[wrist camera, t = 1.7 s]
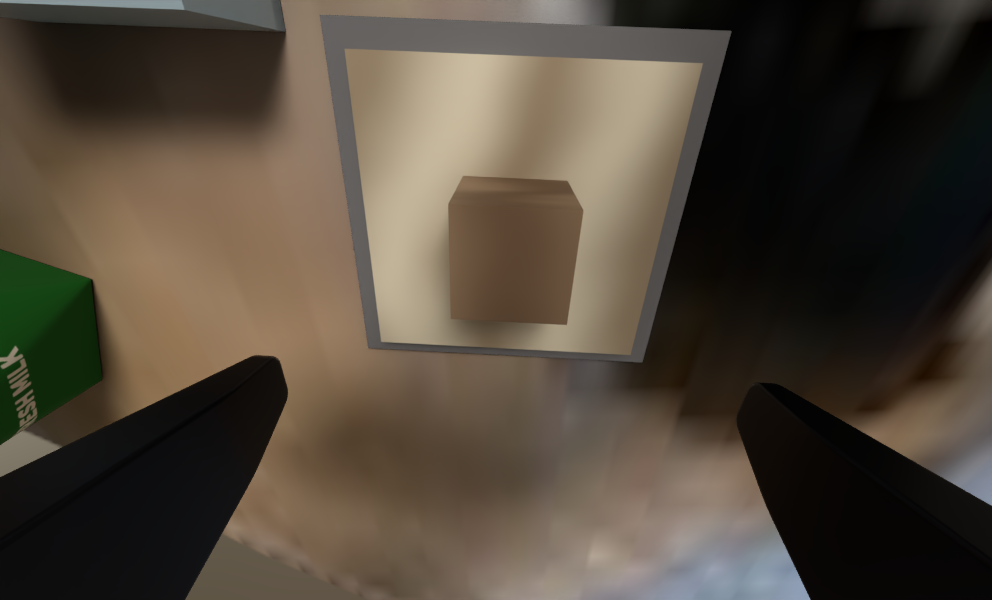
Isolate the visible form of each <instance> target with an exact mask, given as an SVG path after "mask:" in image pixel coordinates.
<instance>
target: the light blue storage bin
mask: <svg viewBox="0 0 992 600" xmlns="http://www.w3.org/2000/svg"><path fill="white" fill-rule="evenodd" d="M0 17H5V18H13V19H20V20H28V21H36V22H54V23H79V24H104V25H129V26H154V27H179V28H204V29H228V30H253V31H278V32H286V31H285V25H284V20H283V14H282V9H281V3H280V0H0Z"/></svg>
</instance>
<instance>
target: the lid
mask: <svg viewBox="0 0 992 600" xmlns="http://www.w3.org/2000/svg"><path fill="white" fill-rule="evenodd" d="M345 57H346V65H347V73H348V81H349V89H350V97H351V105H352V113H353V121H354V129H355V137H356V145H357V153H358V161H359V169H360V177H361V185H362V193H363V201H364V208H365V216H366V224H367V232H368V240H369V248H370V256H371V264H372V272H373V280H374V288H375V296H376V304H377V312H378V320H379V328H380V336H381V342H393V343H412V344H431V345H450V346H469V347H488V348H507V349H526V350H545V351H564V352H583V353H602V354H620V355H631V351H632V347H633V343H634V339H635V335H636V331H637V327H638V323H639V319H640V315H641V311H642V307H643V303H644V299H645V295H646V291H647V287H648V283H649V279H650V275H651V271H652V267H653V263H654V258H655V254H656V250H657V246H658V242H659V238H660V234H661V230H662V226H663V222H664V218H665V214H666V210H667V206H668V202H669V198H670V194H671V190H672V186H673V182H674V178H675V174H676V170H677V166H678V162H679V158H680V154H681V150H682V146H683V142H684V138H685V134H686V130H687V126H688V122H689V118H690V113H691V109H692V105H693V101H694V97H695V93H696V89H697V85H698V81H699V77H700V73H701V69H702V65H703V63H683V62H659V61H634V60H610V59H585V58H561V57H536V56H512V55H487V54H463V53H438V52H414V51H389V50H365V49H345Z"/></svg>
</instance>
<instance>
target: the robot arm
mask: <svg viewBox="0 0 992 600" xmlns="http://www.w3.org/2000/svg"><path fill="white" fill-rule="evenodd" d="M287 397H288V388H287V384H286V381H285V377H284V374H283V370H282V367H281V363H280V361H279V360H278V358H276V357H274V356H262V355H255V356H251V357H249V358H247V359H245V360H243V361H241V362H239V363H237V364H235V365H232V366H230V367H228V368H226V369H224V370H222V371H220V372H218V373H216V374H214V375H212V376H210V377H208V378H205V379H203V380H201V381H199V382H197V383H195V384H193V385H191V386H189V387H187V388H185V389H183V390H181V391H178V392H176V393H174V394H172V395H170V396H168V397H166V398H164V399H162V400H160V401H158V402H156V403H153V404H151V405H149V406H147V407H145V408H143V409H141V410H139V411H137V412H135V413H133V414H131V415H129V416H126V417H124V418H122V419H120V420H118V421H116V422H114V423H112V424H110V425H108V426H106V427H104V428H101V429H99V430H97V431H95V432H93V433H91V434H89V435H87V436H85V437H83V438H81V439H79V440H77V441H74V442H72V443H70V444H68V445H66V446H64V447H62V448H60V449H58V450H56V451H54V452H52V453H50V454H47V455H45V456H43V457H41V458H39V459H37V460H35V461H33V462H31V463H29V464H27V465H25V466H23V467H20V468H18V469H16V470H14V471H12V472H10V473H8V474H6V475H4V476H2V477H0V600H185V599H186V597H187V595H188V593H189V592H190V590H191V588H192V586H193V585H194V583H195V581H196V579H197V577H198V575H199V574H200V572H201V570H202V568H203V567H204V565H205V563H206V561H207V559H208V558H209V556H210V554H211V552H212V550H213V549H214V547H215V545H216V543H217V541H218V540H219V538H220V536H221V534H222V533H223V531H224V529H225V527H226V525H227V524H228V522H229V520H230V518H231V516H232V515H233V513H234V511H235V509H236V507H237V506H238V504H239V502H240V500H241V498H242V497H243V495H244V493H245V491H246V489H247V488H248V486H249V484H250V482H251V480H252V478H253V476H254V474H255V472H256V470H257V468H258V466H259V464H260V462H261V459H262V457H263V455H264V452H265V450H266V448H267V445H268V443H269V441H270V438H271V436H272V434H273V431H274V429H275V427H276V424H277V422H278V420H279V417H280V415H281V413H282V411H283V408H284V406H285V404H286V401H287ZM736 423H737V428H738V431H739V434H740V436H741V439H742V442H743V445H744V447H745V450H746V453H747V456H748V458H749V461H750V464H751V467H752V469H753V472H754V475H755V478H756V480H757V483H758V486H759V489H760V491H761V494H762V497H763V499H764V502H765V504H766V506H767V509H768V511H769V513H770V515H771V518H772V520H773V522H774V524H775V526H776V528H777V530H778V532H779V534H780V537H781V539H782V541H783V543H784V545H785V547H786V549H787V551H788V553H789V555H790V557H791V560H792V562H793V564H794V566H795V568H796V570H797V572H798V574H799V576H800V578H801V581H802V583H803V585H804V587H805V589H806V591H807V593H808V595H809V597H810V599H811V600H992V506H991V505H989V504H988V503H986V502H984V501H982V500H981V499H979V498H977V497H975V496H973V495H972V494H970V493H968V492H966V491H965V490H963V489H961V488H959V487H958V486H956V485H954V484H952V483H951V482H949V481H947V480H945V479H944V478H942V477H940V476H938V475H937V474H935V473H933V472H931V471H930V470H928V469H926V468H924V467H923V466H921V465H919V464H917V463H916V462H914V461H912V460H910V459H909V458H907V457H905V456H903V455H902V454H900V453H898V452H896V451H895V450H893V449H891V448H889V447H888V446H886V445H884V444H882V443H881V442H879V441H877V440H875V439H873V438H872V437H870V436H868V435H866V434H865V433H863V432H861V431H859V430H858V429H856V428H854V427H852V426H851V425H849V424H847V423H845V422H844V421H842V420H840V419H838V418H837V417H835V416H833V415H831V414H830V413H828V412H826V411H824V410H823V409H821V408H819V407H817V406H816V405H814V404H812V403H810V402H809V401H807V400H805V399H803V398H802V397H800V396H798V395H796V394H795V393H793V392H791V391H789V390H788V389H786V388H784V387H782V386H780V385H778V384H773V383H754V384H752V385H751V386H750V387H749V389H748V391H747V393H746V395H745V397H744V400H743V402H742V404H741V406H740V408H739V411H738V413H737V418H736Z"/></svg>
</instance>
